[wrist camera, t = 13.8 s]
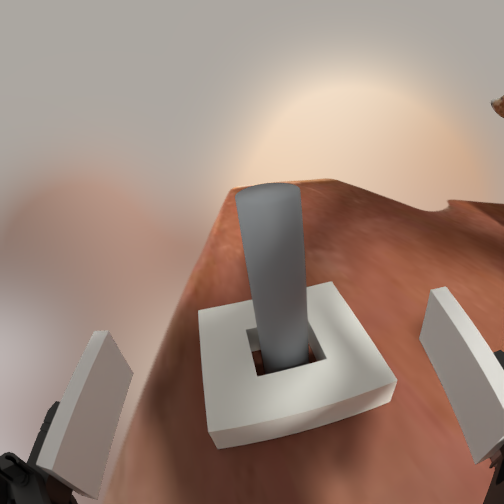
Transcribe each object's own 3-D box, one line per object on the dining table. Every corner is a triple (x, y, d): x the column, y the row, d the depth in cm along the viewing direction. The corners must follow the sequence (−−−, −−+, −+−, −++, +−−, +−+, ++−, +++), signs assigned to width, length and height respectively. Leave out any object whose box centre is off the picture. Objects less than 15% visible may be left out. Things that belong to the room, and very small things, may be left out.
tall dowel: (301, 346, 29) (289, 179, 21) (314, 377, 25) (309, 196, 17) (260, 356, 28) (231, 189, 21) (269, 388, 25) (239, 209, 17)
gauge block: (331, 303, 33) (331, 281, 32) (390, 401, 21) (397, 380, 20) (204, 332, 32) (198, 310, 31) (217, 449, 20) (208, 432, 18)
